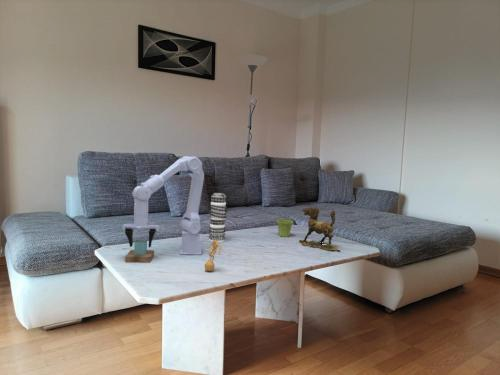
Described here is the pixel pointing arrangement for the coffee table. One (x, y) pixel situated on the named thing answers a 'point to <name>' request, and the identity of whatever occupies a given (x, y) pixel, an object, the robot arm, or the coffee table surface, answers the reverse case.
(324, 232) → the figurine
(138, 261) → the walnut block
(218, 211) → the decorative candle
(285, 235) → the plant pot
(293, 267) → the coffee table surface
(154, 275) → the coffee table surface
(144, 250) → the teal block
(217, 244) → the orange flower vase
